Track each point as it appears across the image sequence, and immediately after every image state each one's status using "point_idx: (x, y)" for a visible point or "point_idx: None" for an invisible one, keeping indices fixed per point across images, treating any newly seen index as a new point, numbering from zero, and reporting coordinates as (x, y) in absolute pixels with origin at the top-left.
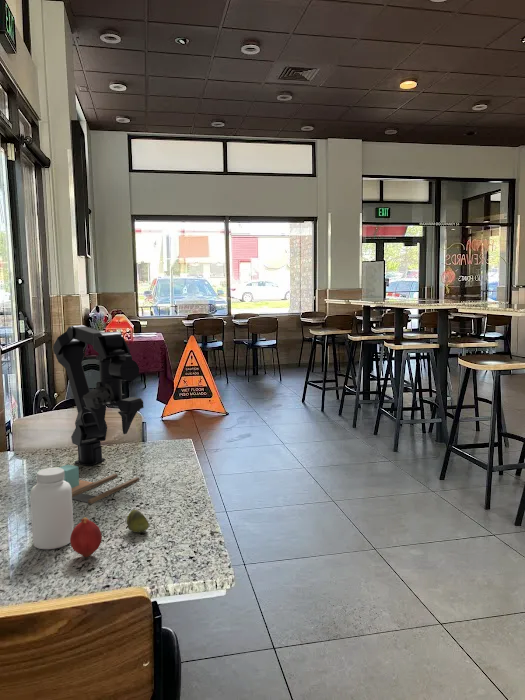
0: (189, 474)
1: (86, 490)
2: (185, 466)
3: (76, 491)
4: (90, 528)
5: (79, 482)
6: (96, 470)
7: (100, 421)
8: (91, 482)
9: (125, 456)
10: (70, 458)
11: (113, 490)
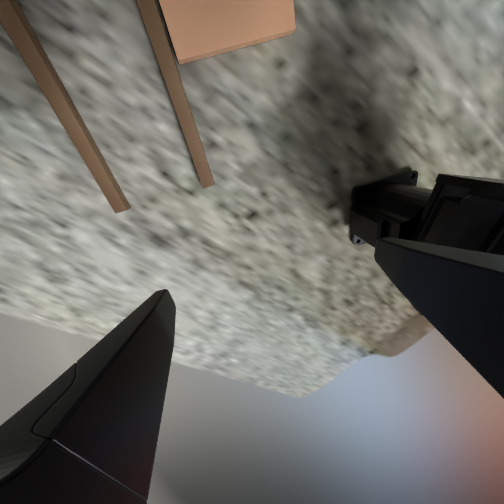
0: (82, 320)
1: None
2: None
3: None
4: None
5: (221, 13)
6: (309, 179)
7: (431, 278)
8: (183, 53)
9: (330, 289)
10: None
11: (19, 52)
